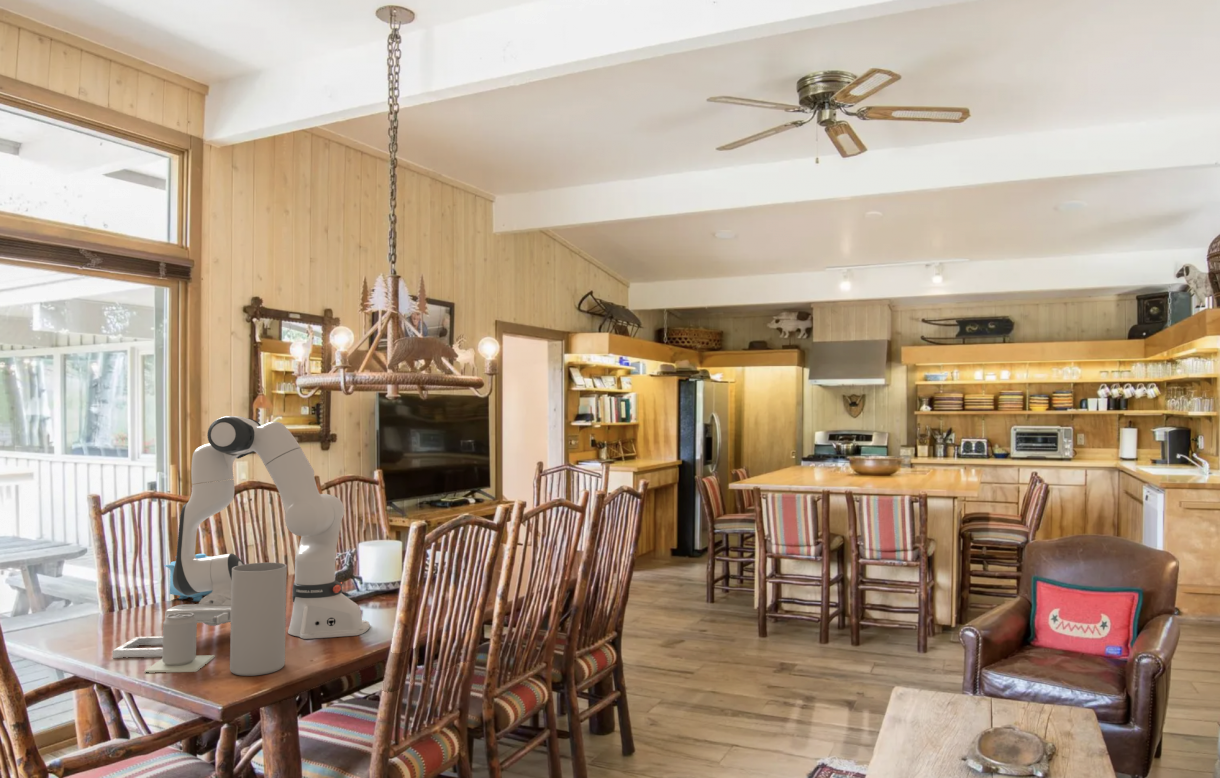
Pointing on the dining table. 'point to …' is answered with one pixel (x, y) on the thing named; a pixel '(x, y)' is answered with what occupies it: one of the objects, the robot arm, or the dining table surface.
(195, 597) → the teakettle
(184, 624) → the can
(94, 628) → the dining table surface
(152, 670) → the tile
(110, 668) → the dining table surface
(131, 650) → the square picture frame
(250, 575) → the cylinder vase
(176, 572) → the robot arm
